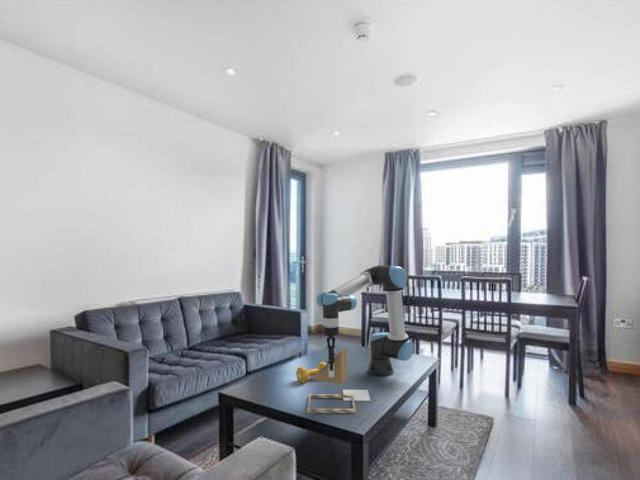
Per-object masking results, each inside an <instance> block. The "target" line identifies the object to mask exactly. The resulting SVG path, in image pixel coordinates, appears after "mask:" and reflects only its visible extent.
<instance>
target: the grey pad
mask: <svg viewBox="0 0 640 480" xmlns="http://www.w3.org/2000/svg"><path fill="white" fill-rule="evenodd" d="M342 395H353V396H354V402H362V403H364V402H367V403H368V402H371V397H370V394H369V390H368V389H342ZM342 400H343V402H352V398H351V397H343V398H342Z"/></svg>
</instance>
